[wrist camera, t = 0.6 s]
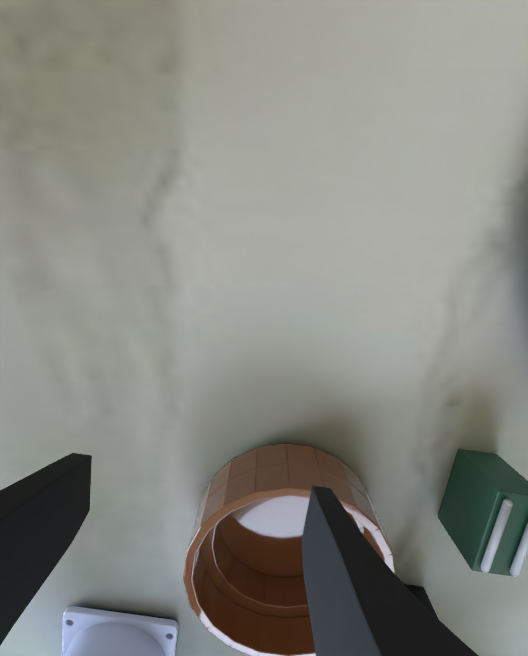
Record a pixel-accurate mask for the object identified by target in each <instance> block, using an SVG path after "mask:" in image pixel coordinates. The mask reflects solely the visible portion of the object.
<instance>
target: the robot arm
mask: <svg viewBox="0 0 528 656" xmlns="http://www.w3.org/2000/svg"><path fill="white" fill-rule="evenodd" d="M91 457H92V456H90V455H83V454H76V453H72V454H70V455H68V456H66V457H64V458H62V459H60V460H58V461H56V462H54V463H52V464H50V465H48V466H46V467H44V468H42V469H41V470H39V471H37V472H35V473H33V474H31V475H29V476H27V477H25V478H24V479H22V480H20V481H18V482H16V483H14V484H12V485H10V486H8V487H6V488H4V489H2V490H0V645H1V644H2V642H3V640H4V639H5V637H6V636H7V634H8V633H9V631H10V630H11V628H12V627H13V625H14V624H15V622H16V621H17V620H18V618H19V617H20V615H21V614H22V613H23V611H24V610H25V608H26V607H27V606H28V604H29V603H30V601H31V600H32V598H33V597H34V596H35V594H36V593H37V591H38V590H39V589H40V587H41V586H42V584H43V583H44V582H45V580H46V579H47V577H48V576H49V575H50V573H51V572H52V570H53V569H54V567H55V566H56V565H57V563H58V562H59V560H60V559H61V557H62V556H63V555H64V553H65V552H66V550H67V549H68V547H69V546H70V544H71V543H72V541H73V539H74V538H75V536H76V534H77V532H78V531H79V529H80V527H81V525H82V523H83V521H84V520H85V518H86V516H87V514H88V512H89V510H90V483H91ZM302 556H303V574H304V581H305V587H306V594H307V601H308V607H309V614H310V620H311V627H312V633H313V640H314V646H315V652H316V656H478V655H477V654H476V653H475V652H473V651H472V650H471V649H470V648H469V647H468V646H467V645H465V644H464V643H463V642H462V641H461V640H460V639H459V638H458V637H457V636H455V635H454V634H453V633H452V632H451V631H450V630H449V629H448V628H447V627H446V626H445V625H444V624H443V623H442V622H441V621H439V620H438V619H437V618H436V617H435V616H434V615H433V614H432V613H431V612H430V611H429V610H428V609H427V608H426V607H425V606H424V605H423V604H422V603H421V602H420V601H419V600H418V599H417V598H416V597H415V595H414V594H413V593H412V592H411V591H410V590H409V589H408V588H407V587H406V586H405V585H404V584H403V583H402V582H401V581H400V579H399V578H398V577H397V576H396V575H395V574H394V573H393V571H392V570H391V569H390V568H389V567H388V565H387V564H386V563H385V562H384V561H383V559H382V558H381V557H380V556H379V555H378V553H377V552H376V551H375V550H374V548H373V547H372V546H371V544H370V543H369V542H368V540H367V539H366V538H365V536H364V535H363V534H362V532H361V531H360V530H359V528H358V527H357V525H356V524H355V523H354V521H353V520H352V518H351V517H350V515H349V514H348V513H347V511H346V510H345V508H344V507H343V505H342V504H341V502H340V501H339V499H338V498H337V496H336V495H335V494H334V492H333V491H332V489H331V488H326V487H319V486H312V489H311V494H310V499H309V504H308V509H307V514H306V520H305V525H304V530H303V535H302ZM178 627H179V626H178V623H177V622H176V621H175V620H171V619H163V618H156V617H149V616H142V615H134V614H127V613H120V612H113V611H105V610H98V609H91V608H83V607H76V606H70V607H68V608H67V609H66V610H65V612H64V614H63V636H62V656H175V651H176V643H177V635H178Z"/></svg>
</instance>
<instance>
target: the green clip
mask: <svg viewBox="0 0 528 656" xmlns="http://www.w3.org/2000/svg"><path fill="white" fill-rule="evenodd" d="M438 518H439V520H440V521H441V523H442V525H443V526H444V528H445V529H446V531H447V532H448V534H449V536H450V537H451V539H452V540H453V542H454V543H455V545H456V546H457V548H458V550H459V551H460V553H461V554H462V556H463V557H464V559H465V560H466V562H467V564H468V565H469V567H470V568H471V570H473V571H479V572H485V573H493V574H500V575H507V576H514V577H518V576H519V574H520V571H521V569H522V566H523V563H524V561H525V558H526V555H527V553H528V481H527V480H526V479H525V478H523V477H522V476H521V475H520V474H519V473H518V472H517V471H515V470H514V469H513V468H512V467H511V466H510V465H509V464H507V463H506V462H505V461H504V460H503V459H502V458H501V457H499V456H498V455H495V454H488V453H481V452H475V451H468V450H461V449H459V450H458V453H457V456H456V459H455V462H454V466H453V469H452V472H451V476H450V479H449V482H448V485H447V489H446V492H445V495H444V499H443V502H442V505H441V508H440V512H439V515H438Z"/></svg>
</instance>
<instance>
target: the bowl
mask: <svg viewBox="0 0 528 656" xmlns="http://www.w3.org/2000/svg"><path fill="white" fill-rule="evenodd" d="M312 486H319V487H326V488H331V489H332V491H333V492H334V494H335V495H336V496H337V498H338V499H339V501H340V502H341V504H342V505H343V507H344V508H345V510H346V511H347V513H348V514H349V515H350V517H351V518H352V520H353V521H354V523H355V524H356V525H357V527H358V528H359V530H360V531H361V532H362V534H363V535H364V536H365V538H366V539H367V540H368V542H369V543H370V544H371V546H372V547H373V548H374V550H375V551H376V552H377V553H378V555H379V556H380V557H381V558H382V559H383V561H384V562H385V563H386V564H387V565H388V567H389V568H390V569H391V570H392V571H393V573H394V574H395V568H394V559H393V553H392V550H391V548H390V545H389V543H388V540H387V538H386V535H385V533H384V531H383V528H382V526H381V523H380V521H379V519H378V516H377V514H376V511H375V509H374V506H373V504H372V502H371V499H370V497H369V495H368V493H367V491H366V489H365V487H364V486H363V484H362V482H361V480H360V478H359V477H358V476H357V475H356V474H355V473H354V472H353V471H352V470H351V469H350V468H349V467H347V466H346V465H345V464H344V463H343V462H342V461H341V460H340V459H338V458H336V457H334V456H332V455H330V454H328V453H326V452H323V451H321V450H319V449H317V448H314V447H308V446H301V445H294V444H286V443H284V444H277V445H270V446H263V447H258V448H255V449H253V450H251V451H249V452H247V453H245V454H242V455H240V456H238V457H236V458H234V459H232V460H231V461H230V462H229V463H228V464H227V465H225V466H224V467H223V468H222V469H221V470H220V471H219V472H218V473H217V474H216V475H215V476H214V477H213V478H212V480H211V482H210V484H209V486H208V487H207V489H206V491H205V493H204V495H203V497H202V500H201V503H200V506H199V510H198V514H197V517H196V521H195V524H194V527H193V531H192V535H191V538H190V542H189V545H188V549H187V552H186V560H185V569H184V577H183V578H184V584H185V587H186V591H187V595H188V599H189V603H190V605H191V607H192V609H193V610H194V612H195V613H196V615H197V616H198V618H199V619H200V620H201V622H202V623H203V625H204V626H205V628H207V630H209V631H210V632H211V633H213V634H214V635H215V636H216V637H218V638H219V639H220V640H222V641H223V642H224V643H225V644H227V645H228V646H230V647H232V648H234V649H237V650H239V651H242V652H244V653H247V654H249V655H252V656H316V652H315V646H314V640H313V633H312V627H311V620H310V614H309V607H308V601H307V594H306V587H305V581H304V574H303V556H302V535H303V530H304V525H305V520H306V514H307V509H308V504H309V499H310V494H311V489H312Z"/></svg>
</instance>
